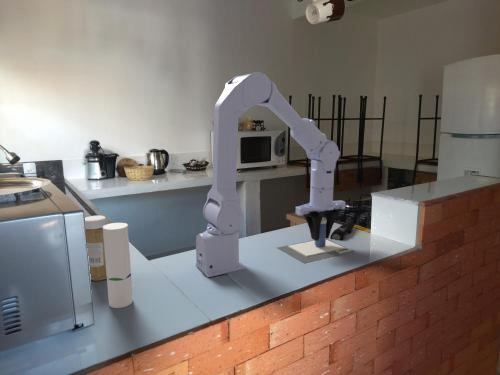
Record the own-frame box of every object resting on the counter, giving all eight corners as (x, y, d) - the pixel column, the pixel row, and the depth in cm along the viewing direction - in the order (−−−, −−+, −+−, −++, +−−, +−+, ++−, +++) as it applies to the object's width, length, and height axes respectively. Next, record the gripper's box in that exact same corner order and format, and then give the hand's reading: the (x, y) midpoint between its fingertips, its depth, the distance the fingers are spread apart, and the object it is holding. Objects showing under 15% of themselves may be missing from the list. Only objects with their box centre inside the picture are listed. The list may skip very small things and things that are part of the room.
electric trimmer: (357, 229, 119) (357, 219, 118) (342, 243, 106) (342, 232, 105) (345, 227, 121) (345, 217, 120) (328, 241, 108) (329, 230, 107)
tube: (105, 302, 73) (98, 226, 70) (126, 294, 76) (120, 221, 73) (115, 310, 70) (109, 231, 67) (137, 302, 73) (132, 225, 70)
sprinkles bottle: (114, 274, 85) (110, 215, 83) (101, 282, 81) (96, 221, 78) (97, 271, 87) (92, 214, 84) (83, 280, 82) (77, 219, 80)
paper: (306, 256, 94) (306, 255, 94) (288, 246, 101) (288, 245, 101) (344, 248, 100) (344, 247, 100) (324, 239, 107) (324, 238, 106)
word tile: (340, 253, 96) (340, 252, 96) (333, 250, 98) (333, 249, 98) (352, 251, 98) (352, 249, 98) (345, 248, 100) (345, 246, 100)
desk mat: (303, 264, 90) (303, 263, 90) (276, 249, 100) (276, 247, 100) (355, 252, 98) (355, 251, 98) (324, 239, 108) (324, 238, 108)
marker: (318, 247, 99) (319, 220, 97) (312, 243, 101) (313, 218, 100) (328, 245, 100) (329, 219, 99) (321, 242, 102) (322, 216, 101)
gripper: (308, 192, 91) (306, 247, 93) (354, 187, 98) (351, 238, 100) (291, 187, 97) (290, 239, 100) (335, 182, 104) (333, 231, 106)
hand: (320, 238), depth 100 cm, fingers closed on marker, 3 cm apart
